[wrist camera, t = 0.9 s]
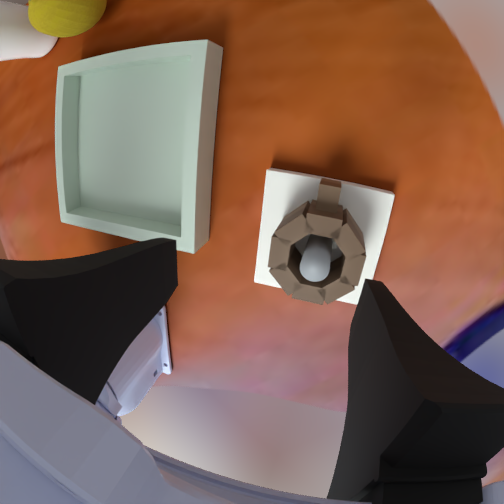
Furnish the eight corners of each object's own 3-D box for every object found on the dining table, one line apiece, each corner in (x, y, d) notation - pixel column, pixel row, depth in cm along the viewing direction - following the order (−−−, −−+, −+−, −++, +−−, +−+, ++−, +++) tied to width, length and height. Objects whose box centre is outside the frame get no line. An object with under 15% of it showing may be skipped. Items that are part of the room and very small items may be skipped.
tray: (208, 240, 23) (194, 253, 20) (79, 213, 26) (61, 221, 23) (223, 47, 17) (207, 39, 14) (78, 67, 19) (58, 66, 17)
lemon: (116, -24, 15) (50, -46, 8) (132, 13, 17) (58, -7, 10) (75, 14, 17) (9, 6, 10) (87, 53, 19) (14, 49, 12)
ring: (350, 285, 20) (350, 310, 17) (274, 269, 21) (264, 291, 18) (374, 188, 17) (380, 200, 14) (288, 171, 18) (278, 180, 15)
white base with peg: (363, 298, 21) (365, 340, 17) (257, 275, 23) (237, 311, 18) (392, 191, 17) (407, 212, 13) (270, 167, 19) (248, 180, 15)
